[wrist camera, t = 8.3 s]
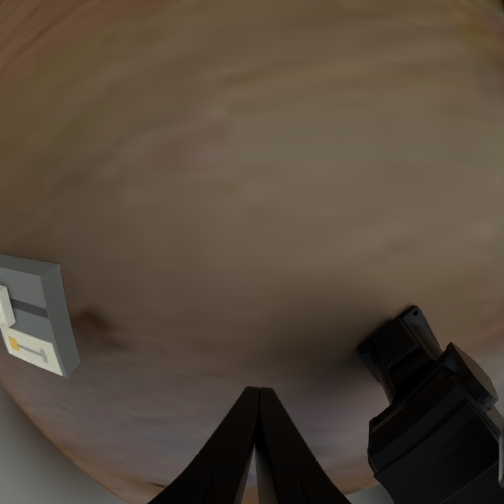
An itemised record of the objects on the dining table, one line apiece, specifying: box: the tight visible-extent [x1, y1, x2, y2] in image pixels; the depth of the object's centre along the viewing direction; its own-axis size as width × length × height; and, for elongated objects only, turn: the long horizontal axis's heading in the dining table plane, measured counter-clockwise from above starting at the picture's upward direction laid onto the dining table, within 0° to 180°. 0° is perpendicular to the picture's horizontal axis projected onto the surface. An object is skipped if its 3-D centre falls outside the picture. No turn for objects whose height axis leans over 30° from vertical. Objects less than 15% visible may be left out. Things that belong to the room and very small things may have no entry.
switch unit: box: [0, 254, 81, 378], centre depth 23 cm, size 10×11×3 cm
